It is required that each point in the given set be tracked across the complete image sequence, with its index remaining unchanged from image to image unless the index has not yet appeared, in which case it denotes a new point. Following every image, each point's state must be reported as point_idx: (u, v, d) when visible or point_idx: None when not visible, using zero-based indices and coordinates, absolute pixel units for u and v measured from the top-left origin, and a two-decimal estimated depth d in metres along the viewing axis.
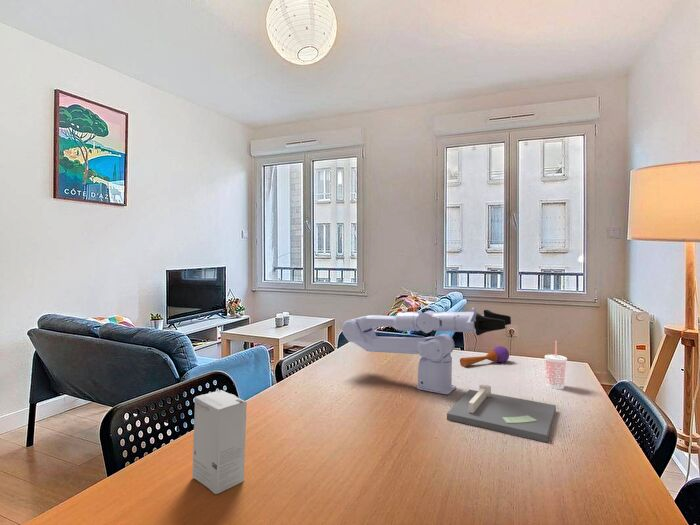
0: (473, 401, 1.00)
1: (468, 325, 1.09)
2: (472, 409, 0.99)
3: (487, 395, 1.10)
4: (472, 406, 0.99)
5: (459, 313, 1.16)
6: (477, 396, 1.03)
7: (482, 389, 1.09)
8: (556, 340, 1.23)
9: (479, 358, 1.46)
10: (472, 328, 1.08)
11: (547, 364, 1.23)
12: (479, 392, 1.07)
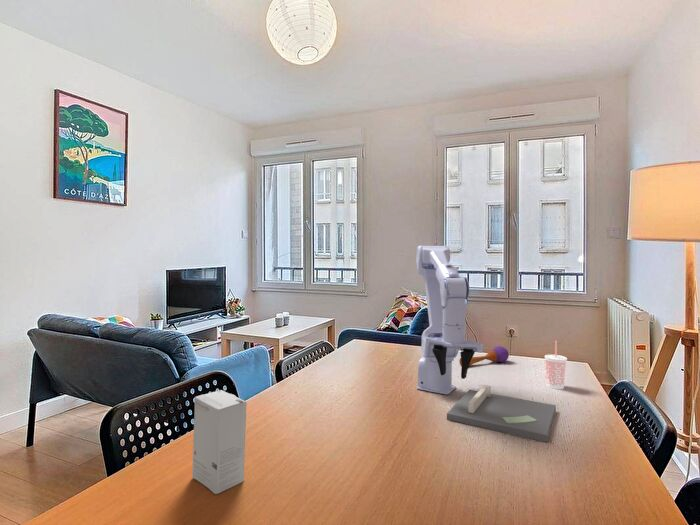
0: (473, 401, 1.00)
1: None
2: (472, 409, 0.99)
3: (487, 395, 1.10)
4: (472, 406, 0.99)
5: (445, 328, 1.05)
6: (477, 396, 1.03)
7: (482, 389, 1.09)
8: (556, 340, 1.23)
9: (479, 358, 1.46)
10: None
11: (547, 364, 1.23)
12: (479, 392, 1.07)
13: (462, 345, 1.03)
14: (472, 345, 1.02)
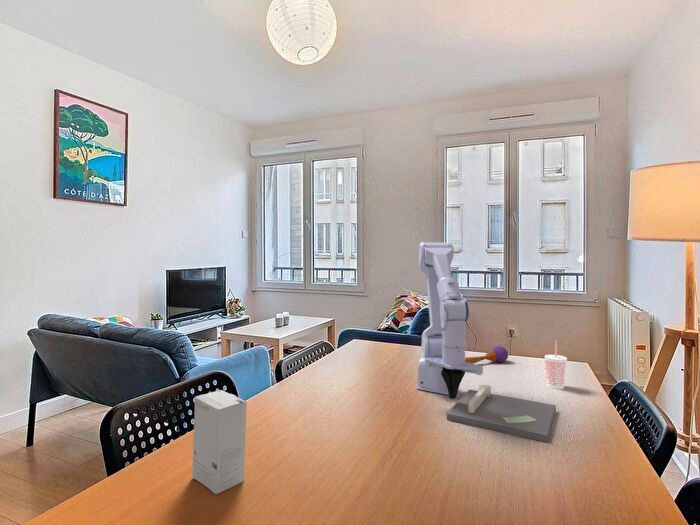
0: (473, 401, 1.00)
1: None
2: (472, 409, 0.99)
3: (487, 395, 1.10)
4: (472, 406, 0.99)
5: (445, 351, 1.05)
6: (477, 396, 1.03)
7: (482, 389, 1.09)
8: (556, 340, 1.23)
9: (478, 358, 1.46)
10: None
11: (547, 364, 1.23)
12: (479, 392, 1.07)
13: (462, 367, 1.03)
14: (472, 368, 1.02)
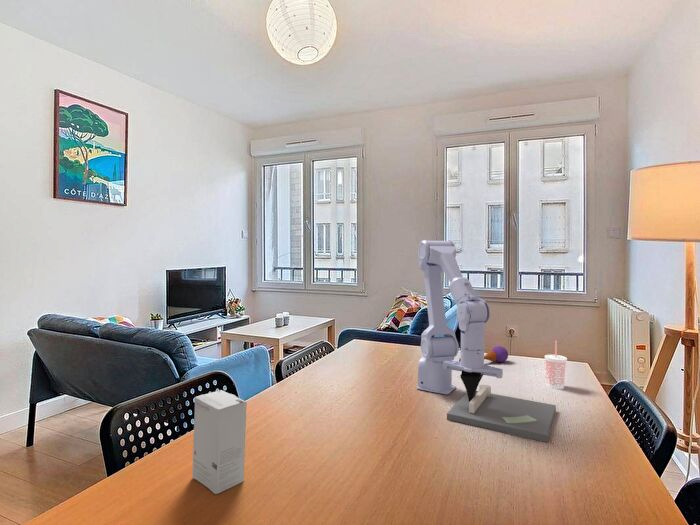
0: (474, 401, 1.00)
1: None
2: (473, 409, 0.99)
3: (487, 395, 1.10)
4: (473, 406, 0.99)
5: (463, 353, 1.02)
6: (477, 396, 1.03)
7: (482, 389, 1.09)
8: (556, 340, 1.23)
9: None
10: None
11: (547, 364, 1.23)
12: (480, 392, 1.07)
13: (481, 370, 1.00)
14: (492, 371, 1.00)
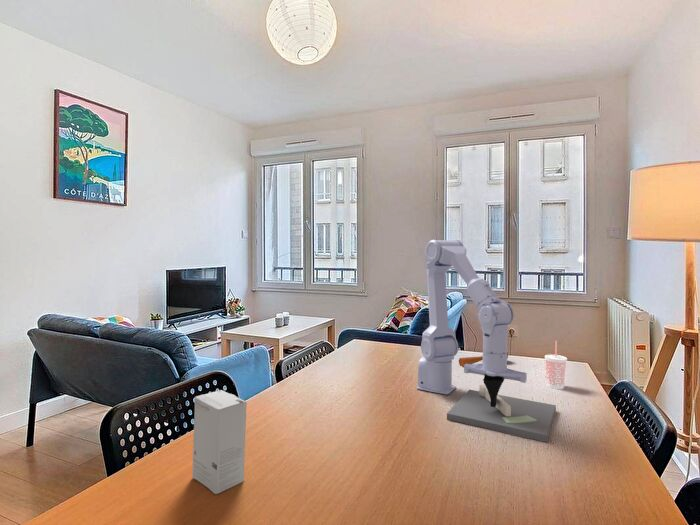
0: (507, 404, 0.98)
1: None
2: (509, 412, 0.97)
3: None
4: (509, 409, 0.97)
5: (486, 356, 0.99)
6: (499, 398, 1.02)
7: None
8: (556, 340, 1.23)
9: (478, 358, 1.46)
10: None
11: (547, 364, 1.23)
12: None
13: (505, 375, 0.97)
14: (515, 375, 0.97)
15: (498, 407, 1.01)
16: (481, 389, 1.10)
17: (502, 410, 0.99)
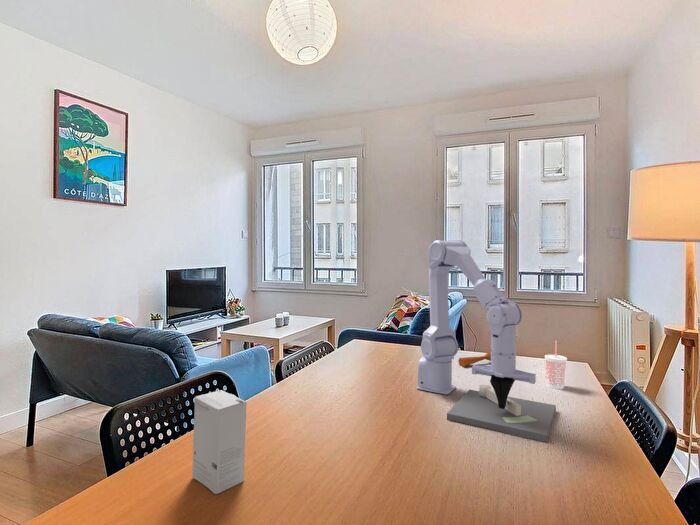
0: (516, 403, 0.99)
1: None
2: (519, 411, 0.98)
3: None
4: (519, 408, 0.98)
5: (494, 357, 0.98)
6: None
7: (490, 389, 1.08)
8: (556, 340, 1.23)
9: (478, 358, 1.46)
10: None
11: (547, 364, 1.23)
12: None
13: (513, 376, 0.96)
14: (524, 376, 0.96)
15: (505, 407, 1.01)
16: (482, 389, 1.10)
17: (511, 410, 0.99)
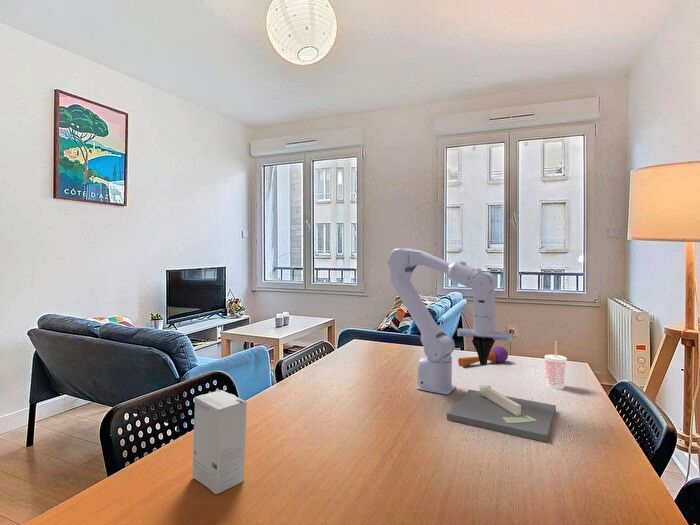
0: (516, 403, 0.99)
1: None
2: (520, 411, 0.98)
3: None
4: (520, 408, 0.98)
5: (476, 320, 1.12)
6: (505, 397, 1.03)
7: (490, 389, 1.08)
8: (556, 340, 1.23)
9: (477, 358, 1.46)
10: None
11: (547, 364, 1.23)
12: (496, 393, 1.06)
13: (492, 335, 1.10)
14: (502, 335, 1.09)
15: (505, 407, 1.01)
16: (482, 389, 1.10)
17: (511, 410, 0.99)
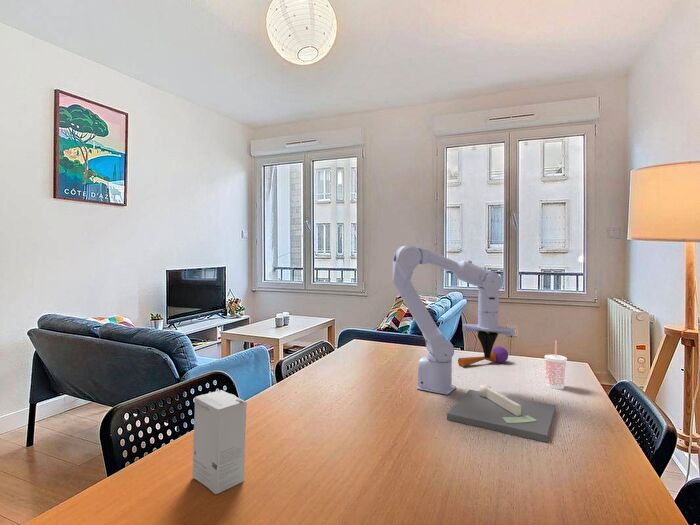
0: (516, 403, 0.99)
1: None
2: (520, 411, 0.98)
3: None
4: (520, 408, 0.98)
5: (481, 315, 1.19)
6: (505, 397, 1.03)
7: (490, 389, 1.08)
8: (556, 340, 1.23)
9: (477, 358, 1.46)
10: None
11: (547, 364, 1.23)
12: (496, 393, 1.06)
13: (497, 329, 1.18)
14: (506, 329, 1.17)
15: (505, 407, 1.01)
16: (482, 389, 1.10)
17: (511, 410, 0.99)
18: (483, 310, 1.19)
